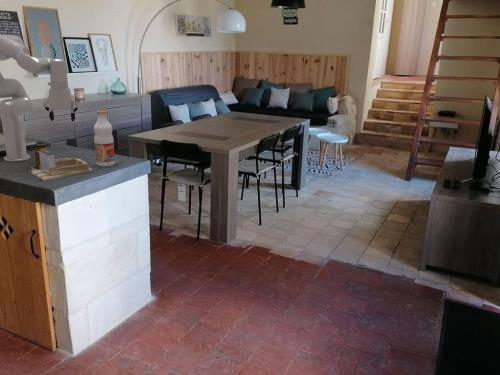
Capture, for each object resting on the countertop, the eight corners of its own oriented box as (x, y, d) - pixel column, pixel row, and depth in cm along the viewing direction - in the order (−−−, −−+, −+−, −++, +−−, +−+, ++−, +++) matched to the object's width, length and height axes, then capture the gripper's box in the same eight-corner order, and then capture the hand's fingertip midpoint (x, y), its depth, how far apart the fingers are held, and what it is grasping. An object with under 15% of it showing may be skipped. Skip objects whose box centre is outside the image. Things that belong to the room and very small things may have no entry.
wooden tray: (30, 173, 208) (29, 164, 206) (79, 165, 224) (78, 157, 223) (43, 180, 197) (42, 172, 196) (93, 171, 213) (93, 163, 212)
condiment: (51, 168, 216) (48, 145, 212) (32, 171, 211) (29, 147, 208) (48, 165, 222) (46, 142, 218) (30, 167, 217) (27, 144, 213)
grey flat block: (41, 170, 208) (38, 149, 205) (47, 169, 210) (45, 148, 207) (49, 175, 201) (47, 153, 198) (56, 174, 203) (54, 152, 200)
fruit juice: (98, 162, 231) (94, 109, 222) (116, 162, 232) (113, 109, 223) (94, 166, 222) (89, 112, 213) (112, 167, 223) (109, 112, 214)
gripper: (38, 85, 204) (41, 121, 209) (76, 86, 206) (79, 122, 212) (43, 84, 211) (46, 118, 216) (80, 85, 213) (82, 119, 219)
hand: (62, 120), depth 214 cm, fingers open, 9 cm apart
